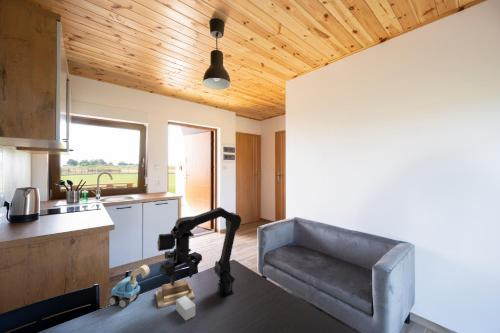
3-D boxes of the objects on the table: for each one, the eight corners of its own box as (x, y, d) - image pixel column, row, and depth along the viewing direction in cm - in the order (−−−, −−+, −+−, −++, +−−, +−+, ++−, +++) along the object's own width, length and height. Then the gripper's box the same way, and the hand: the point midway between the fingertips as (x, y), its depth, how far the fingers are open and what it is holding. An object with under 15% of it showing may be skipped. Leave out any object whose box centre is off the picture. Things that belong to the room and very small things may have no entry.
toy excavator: (139, 311, 92) (140, 271, 92) (106, 305, 95) (107, 266, 95) (152, 299, 100) (153, 262, 100) (121, 294, 104) (122, 258, 104)
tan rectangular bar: (185, 288, 108) (185, 279, 108) (187, 293, 104) (187, 284, 104) (162, 294, 103) (162, 284, 103) (163, 299, 99) (163, 289, 99)
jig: (188, 285, 113) (188, 280, 113) (194, 298, 102) (194, 292, 102) (155, 293, 105) (155, 287, 105) (158, 308, 94) (158, 301, 94)
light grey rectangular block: (175, 309, 94) (176, 299, 94) (185, 305, 97) (185, 295, 97) (185, 321, 87) (185, 310, 87) (195, 316, 90) (195, 305, 90)
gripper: (188, 237, 109) (188, 268, 109) (153, 248, 94) (152, 283, 94) (203, 242, 102) (202, 275, 102) (167, 255, 87) (166, 293, 87)
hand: (181, 281), depth 96 cm, fingers open, 9 cm apart
